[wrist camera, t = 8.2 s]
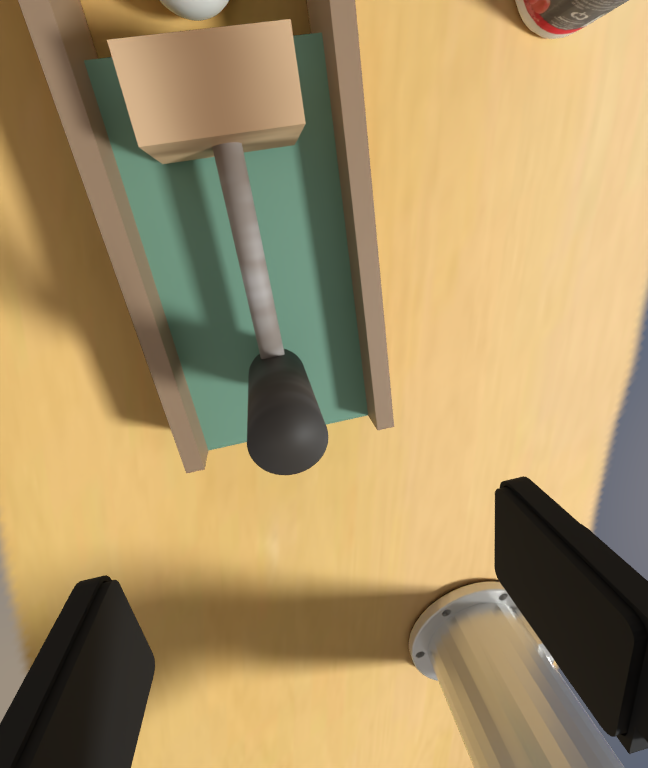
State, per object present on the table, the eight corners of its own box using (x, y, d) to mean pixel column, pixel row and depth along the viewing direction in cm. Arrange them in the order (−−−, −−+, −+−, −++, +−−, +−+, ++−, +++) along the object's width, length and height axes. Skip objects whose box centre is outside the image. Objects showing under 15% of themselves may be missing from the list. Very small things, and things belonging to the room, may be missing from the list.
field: (310, -152, 16) (332, -298, 12) (372, 396, 27) (396, 430, 22) (12, -131, 15) (-91, -285, 11) (197, 433, 25) (184, 478, 21)
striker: (282, 64, 17) (306, -66, 9) (331, 381, 23) (370, 456, 15) (140, 82, 16) (44, -43, 9) (229, 403, 22) (217, 492, 15)
